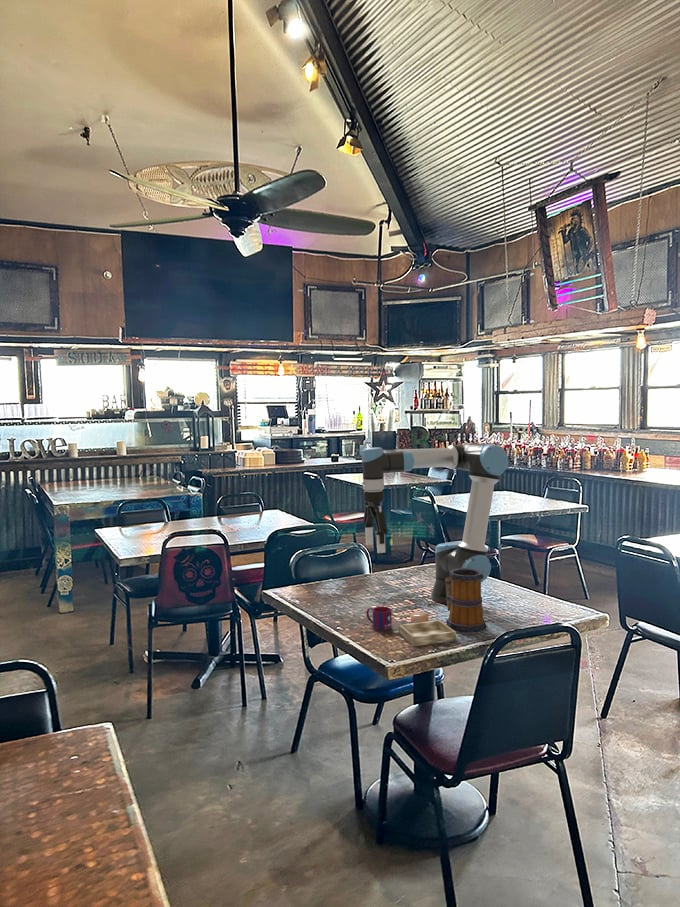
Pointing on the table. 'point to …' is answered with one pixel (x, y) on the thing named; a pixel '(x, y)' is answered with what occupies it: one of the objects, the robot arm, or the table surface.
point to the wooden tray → (427, 633)
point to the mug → (465, 601)
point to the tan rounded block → (419, 617)
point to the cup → (381, 618)
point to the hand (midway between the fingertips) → (375, 548)
